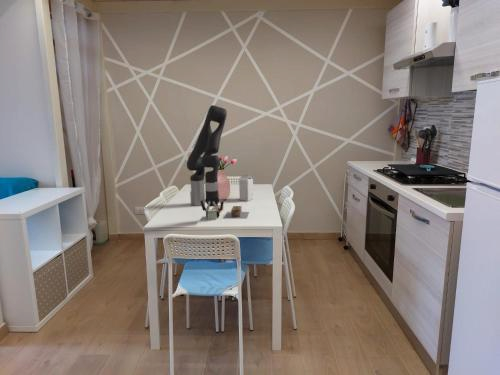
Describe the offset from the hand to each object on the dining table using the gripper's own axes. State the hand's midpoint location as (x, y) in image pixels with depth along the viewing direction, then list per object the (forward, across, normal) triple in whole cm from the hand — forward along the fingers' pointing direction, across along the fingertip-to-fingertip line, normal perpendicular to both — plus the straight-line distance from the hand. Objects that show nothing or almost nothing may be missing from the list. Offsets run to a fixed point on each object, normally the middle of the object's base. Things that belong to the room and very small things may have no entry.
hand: (212, 217), depth 215 cm
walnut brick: (0, +13, +6) cm, 15 cm away
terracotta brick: (+2, 0, +14) cm, 14 cm away
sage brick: (+1, 0, 0) cm, 1 cm away
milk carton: (+2, +14, +50) cm, 52 cm away
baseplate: (+2, +13, +6) cm, 15 cm away
